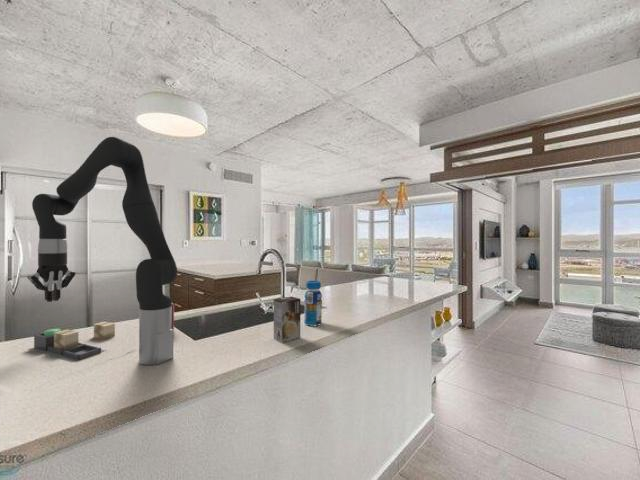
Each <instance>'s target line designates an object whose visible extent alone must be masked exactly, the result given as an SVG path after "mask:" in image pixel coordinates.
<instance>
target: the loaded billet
mask: <svg viewBox="0 0 640 480" xmlns="http://www.w3.org/2000/svg"><path fill="white" fill-rule="evenodd" d="M62 330H63V331H59V332H55V333H54V348H58V349H61V350H65V349H68V348H72V347H75V346H78V342H79V331H76V330H73V329H62Z"/></svg>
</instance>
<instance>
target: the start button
mask: <svg viewBox="0 0 640 480" xmlns="http://www.w3.org/2000/svg"><path fill="white" fill-rule="evenodd" d="M61 330H62V328H51V329H47V330H44V332H43V333H44V336H47V337H49V336H53V335H54V333H55V332H59V331H61Z"/></svg>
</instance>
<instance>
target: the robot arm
mask: <svg viewBox="0 0 640 480" xmlns="http://www.w3.org/2000/svg"><path fill="white" fill-rule="evenodd" d="M143 159H144V158H143V155H142V153H141V149H139V148H138V147H137V145H135V144H133V143H131V142H129V141H126V140H124V139H122V138H119V137H117V136H108V137H105V138H104V139H103V140H102V141H100V142H99V144H97V146H96V147H95V149H93V151H92V152H91V153H90V154H89V156H87V158H86V159H85V160H84V161H83V163H82V164H81V165H80V167H78V169H77V170H75V172H73V173H72V174H71V175H70V176H69V177H67V178H65V180H63V181H62V182H61V183H59V185H58V186H57V187H56V190H55V191H56V194H57V195H56V194H49V193H39V194H37V195H35V197H34V198H33V199H32V202H31V206H32V210H33V213H34V216H35V219H36V222H37V224H38V227H39V229H38V231H39V232H38V233H39V234H38V238H39V239H38V244H37V267H38V268H37V270H36V272H35V273H33V274H31V275H28V276H26V277H27V279H28V280H29V281H30V283H31V284H32V285H34V287H35V288H36V289H37V290H39V291H43V292H44V300H45V301H46V302H48V303H50V302H51V303H52V302H53V301H55V302H57V301H59V299H61V290H62V289H63V288H67V287H68V286H69V285H70V283H71V282H72V280H73V278H74V277H75V276H76V273H77V272H74V271H71V270H69V268H68V266H67V265H68V243H67V225H66V224H65V223H63V222H61V221H57V219H56V218H55V216H66V215H68V214H70V213H72V212H73V211H74V209H75V207H76V206H77V205H78V203H79V201H80V200H81V199H82V198H83V197H85V196H86V195H88V194H89V193H90V192H91V191H92V190H93V189H94V188H95V186H96V184H97V180H98V175H99V174H100V172H102V171H103V170H105V169H106V168H108V167H109V166H113V167H117V168H118V169H121V170H122V172H123V174H124V177H125V181H126V189H125V191H124V195H123V198H122V202H121V204H122V205H121V207H122V211H123V213H124V217H125V221H126V223H127V225H128V227H129V229H130V230H131V231H132V232H133V234H135V236H136V237H137V238H138V239H139V240H140V242H142V243H143V245H144V246H145V247H146V249H147V251H148V254H149V258H146V259H144V260H141V261H140V262H139V264H138V265H137V268H136V271H135V285H136V286H135V287H136V288H135V289H136V299H137V302H138V304H139V309H138V310H139V315H138V316H139V319H138V322H139V323H138V325H139V326H138V329H139V330H138V333H139V335H138V336H139V337H138V355H139V356H138V363H139V364H141V365H146V366H151V365H156V366H158V365H160V364H163V363H164V362H167V361H169V360H172V359H173V358H174V339H175V338H174V337H175V336H174V333H175V331H174V330H175V329H174V330H173V329H171V321H172V303H173V300H172V297H171V296H170V295H165V294H164V292H163V286H165V285H169V284H171V283H173V282H174V281H176V279H177V276H178V266H177V264H176V261H175V259H174V256H173V254H172V252H171V250H170V247H169V245H168V242H167V241H166V238H165V237H166V236H165V234H164V232H163V229H162V226H161V223H160V220H159V216H158V212H157V208H156V206H155V202H154V199H153V197H152V193H151V190H150V186H149V183H148V180H147V175H146V171H145V163H144V160H143ZM40 278H41V280H42V281H43V282H41V280H40Z"/></svg>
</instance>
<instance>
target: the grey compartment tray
mask: <svg viewBox="0 0 640 480" xmlns="http://www.w3.org/2000/svg"><path fill="white" fill-rule="evenodd" d="M63 330H64V329H61V331H63ZM33 339H34V340H33V347H31V348H27V350H29V351H31V352H35V353H39V354H42V355H45V356H46V355H47V356H49V357H51V358H52V357H53V358H56V359H59V360H63V361H65V362H66V361H67V362H70V363H75V362H78V361H81V360H83V359H87V358H90V357H92V356H96V355H98V354H100V353H105V352H106V351H107V350H105V349H102V348H101V347H98V346H95V345H91V344H85V343H83V342H79V341H78V346H75V347H72V348H68V349H65V350H61V349H58V348H54V335H53V336H49V337H47V336H44V332H41V333H37V334H34V335H33Z"/></svg>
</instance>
